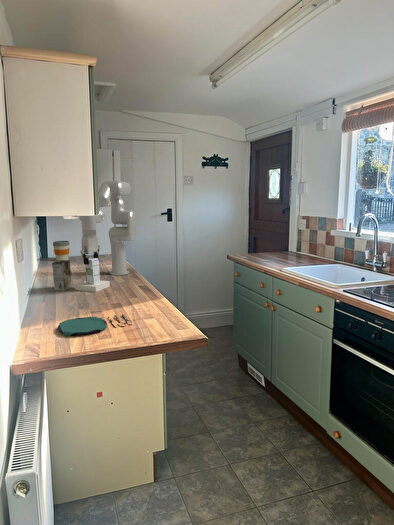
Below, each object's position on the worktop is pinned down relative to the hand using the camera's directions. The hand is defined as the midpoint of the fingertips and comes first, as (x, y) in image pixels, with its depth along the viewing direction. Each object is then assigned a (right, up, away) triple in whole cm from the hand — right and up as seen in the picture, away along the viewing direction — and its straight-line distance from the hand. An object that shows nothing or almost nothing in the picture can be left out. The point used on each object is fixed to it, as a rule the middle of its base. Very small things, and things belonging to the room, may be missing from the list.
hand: (91, 262), depth 238 cm
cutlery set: (+18, -28, -63) cm, 71 cm away
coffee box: (-17, -15, +2) cm, 23 cm away
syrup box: (+1, -12, +2) cm, 12 cm away
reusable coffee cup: (-47, +2, +94) cm, 106 cm away
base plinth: (0, -15, +2) cm, 15 cm away
